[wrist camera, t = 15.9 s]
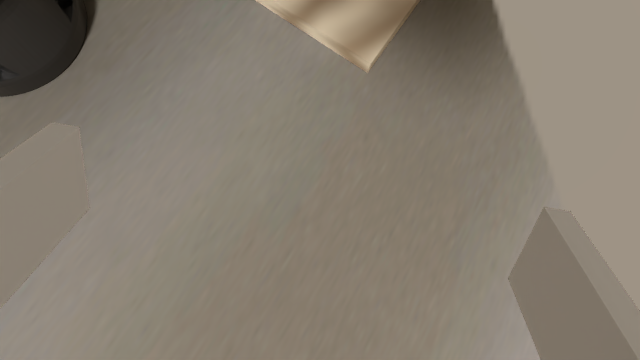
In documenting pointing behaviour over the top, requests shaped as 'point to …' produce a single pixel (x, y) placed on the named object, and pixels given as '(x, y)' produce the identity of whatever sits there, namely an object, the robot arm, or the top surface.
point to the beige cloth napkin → (347, 24)
